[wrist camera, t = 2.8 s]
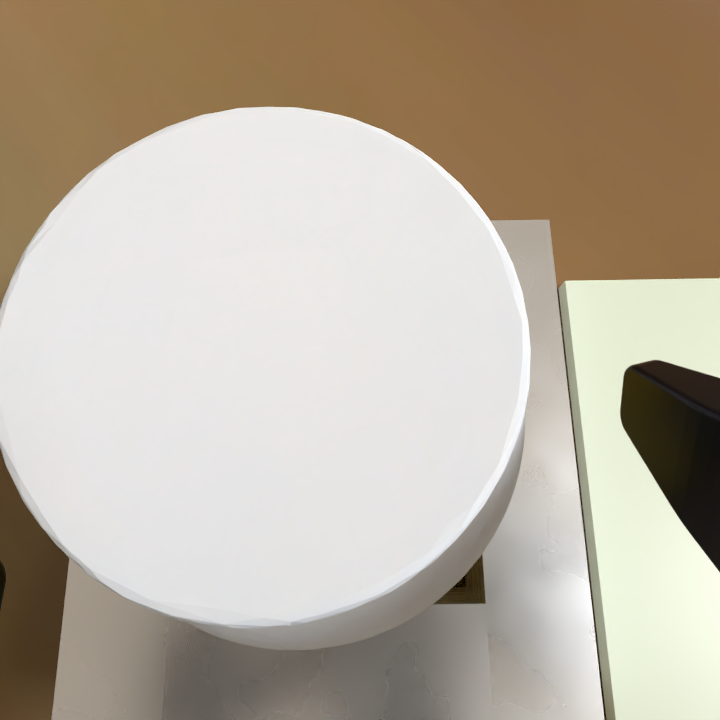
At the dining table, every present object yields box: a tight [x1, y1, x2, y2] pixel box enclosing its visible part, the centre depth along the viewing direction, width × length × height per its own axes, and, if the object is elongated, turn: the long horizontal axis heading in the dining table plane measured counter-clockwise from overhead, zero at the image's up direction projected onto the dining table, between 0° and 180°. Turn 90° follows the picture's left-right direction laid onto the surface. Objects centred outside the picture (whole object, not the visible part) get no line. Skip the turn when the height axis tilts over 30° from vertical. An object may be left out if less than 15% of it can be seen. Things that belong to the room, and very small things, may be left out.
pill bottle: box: [0, 107, 531, 650], centre depth 10 cm, size 6×6×12 cm
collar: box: [52, 220, 604, 720], centre depth 15 cm, size 12×12×2 cm
